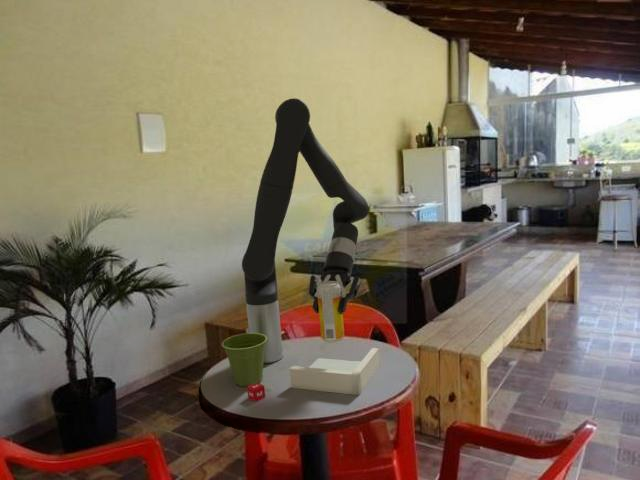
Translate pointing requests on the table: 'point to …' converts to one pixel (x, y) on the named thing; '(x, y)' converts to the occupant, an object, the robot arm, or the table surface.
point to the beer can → (330, 311)
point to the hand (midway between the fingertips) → (328, 312)
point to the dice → (256, 392)
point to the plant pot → (246, 357)
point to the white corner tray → (336, 374)
